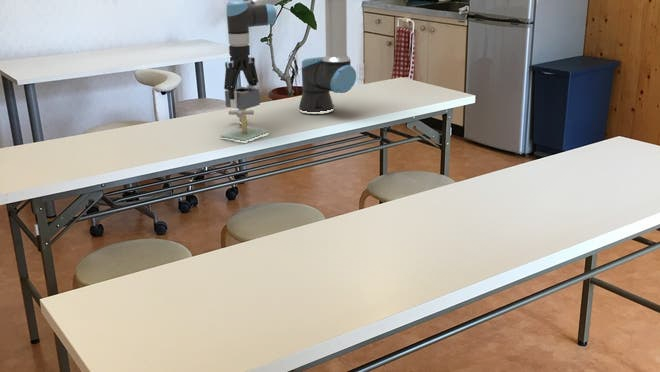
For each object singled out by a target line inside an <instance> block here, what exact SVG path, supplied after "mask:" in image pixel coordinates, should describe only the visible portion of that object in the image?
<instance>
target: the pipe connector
mask: <svg viewBox="0 0 660 372" xmlns="http://www.w3.org/2000/svg"><path fill="white" fill-rule="evenodd" d="M243 114H245V115H246V116H247V115H248V116H249V115H250V116H253V115H254V114H255V110H252V109H250V110H249V109H248V110H247V109H244V110H243V109H229V110H228V115H229V116H230V115H236V117H237V118H239V123H240V122H241V115H243Z"/></svg>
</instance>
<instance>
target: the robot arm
mask: <svg viewBox="0 0 660 372" xmlns="http://www.w3.org/2000/svg"><path fill="white" fill-rule="evenodd" d="M281 1H283V0H231V1H228V2H227V3H226V19H227V20H226V21H227V22H226V23H227V35H228V36H227V37H228V44H229V46H228V53H229V56H230V58H231V59H230V61H229V62H228V61H226V62H224V63H225V64H224V67H225V75H224V86H223V89H224V91H227V90H228V91H229V99H230V104H231V107H230V108H232V109H237V92H236V90H235V88H237V87H236V86H237V83H238V79H239V75H240V74H241V72H243V74H244V77H245V79H246V81H247V84H248V85H246V87H247V88H254V89H256V88H255V87H256V86H257V85H258V83H259V79H258V78H259V77H258V73H257V68H256V63H255V61H256V60H255V59H256V58H255V57H250V55H251V50H250V48H251V47H250V45H249V44H251V42H250V31H249V30H250V29H249V28H252V27H261V26H270V25H274V24H275V23H276V20H277V17H278V15H277V10H276V8H275V5H276V4H278V3H280V2H281ZM347 5H348V4H347V0H324V6H325V7H324V10H325V12H324V13H325V19H324V22H325V55H324V56H319V57H311V58H304V59H303V60H302V61H301V83H302V95H301V98H300V103H299V105H298V110H299V109H300V110H302V111H307V112H320V111H327V110H331V109H333V108H334V109H335V105H334V103H333V99H332V96H331V92H333V93H336V94H338V93H339V94H345V93H349V91H350V90H351V89H352V88H353V87H354V85H355V83H356V81H357V71H356V70H355V68H354V67H353V66H352V65H351V58H350V57H349V56H348V53H347V52H348V47H347V46H348V45H347V44H348V42H347V41H348V38H347V37H348V36H347V35H348V34H347V31H348V30H347V27H348V26H347V23H348V22H347V20H348V18H347V15H348V14H347V10H348V9H347Z"/></svg>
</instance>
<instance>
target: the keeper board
mask: <svg viewBox="0 0 660 372" xmlns="http://www.w3.org/2000/svg"><path fill="white" fill-rule="evenodd" d="M247 121H248V119H247V115H245V114H243V115H241V123H242V125H241V128H239V129H236V130H234V131H231V132H227V133H224V134H220V138H221V137H222V138H228V139H234V140H240V141H246V140H249V139H252V138H255V137H258V136H260V135H263V134H266V133H268V132H269V130H263V129H257V128H251V127H248V123H247Z"/></svg>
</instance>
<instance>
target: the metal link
mask: <svg viewBox="0 0 660 372" xmlns="http://www.w3.org/2000/svg"><path fill="white" fill-rule="evenodd" d="M235 90H236V92H237V108H236V110H239V109H243V110H244V109H246V110H247V109H248V110H249V109H251V108H254V107H257V106H260V105H261V102H260V88H255V89H254V88H247V86H246V87H245V86H239V87H235ZM224 97H225V98H224V99H225V107H226V108H231V104H230V99H229V91H228V90H224Z"/></svg>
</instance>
